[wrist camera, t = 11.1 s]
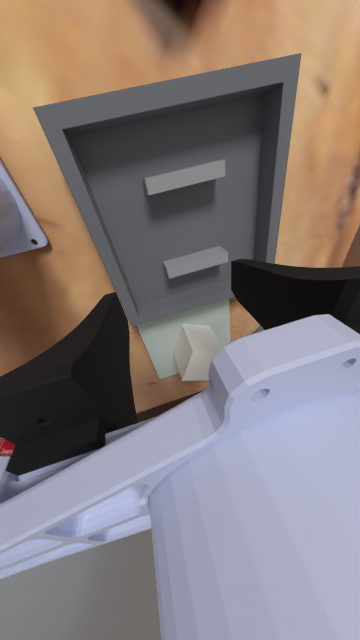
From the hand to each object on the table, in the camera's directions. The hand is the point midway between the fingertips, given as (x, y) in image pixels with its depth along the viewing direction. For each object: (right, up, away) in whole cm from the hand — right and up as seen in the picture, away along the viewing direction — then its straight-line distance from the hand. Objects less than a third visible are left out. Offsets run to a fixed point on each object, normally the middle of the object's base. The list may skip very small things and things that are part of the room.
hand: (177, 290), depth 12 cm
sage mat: (+1, -4, +16) cm, 16 cm away
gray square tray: (+1, +8, +6) cm, 10 cm away
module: (+2, -4, +15) cm, 16 cm away
